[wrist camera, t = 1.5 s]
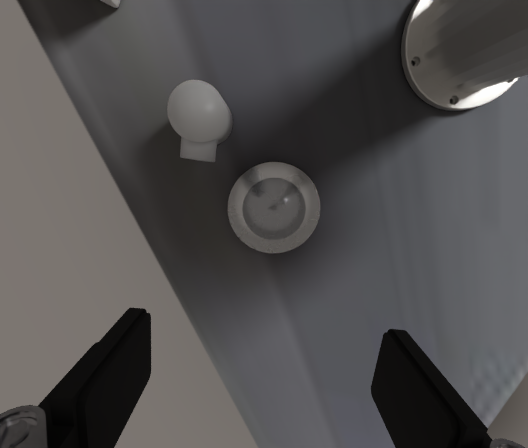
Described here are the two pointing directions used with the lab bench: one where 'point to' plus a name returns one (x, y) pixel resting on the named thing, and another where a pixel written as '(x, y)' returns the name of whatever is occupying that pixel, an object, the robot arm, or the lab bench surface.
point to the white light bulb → (199, 119)
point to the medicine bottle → (112, 3)
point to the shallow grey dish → (274, 207)
